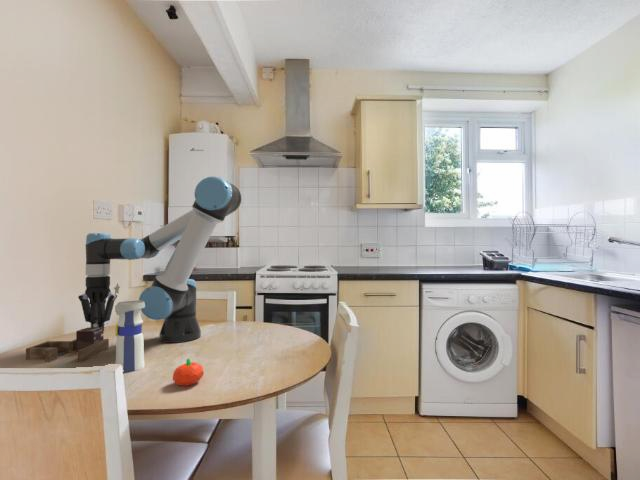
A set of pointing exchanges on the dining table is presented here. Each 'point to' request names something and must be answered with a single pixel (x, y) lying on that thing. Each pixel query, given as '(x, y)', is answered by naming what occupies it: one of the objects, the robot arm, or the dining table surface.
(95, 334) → the box
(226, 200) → the robot arm
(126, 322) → the water bottle
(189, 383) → the tomato
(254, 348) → the dining table surface
